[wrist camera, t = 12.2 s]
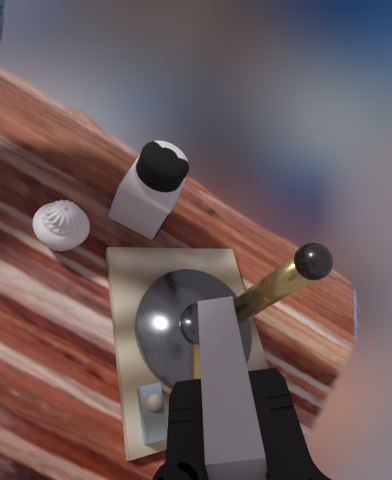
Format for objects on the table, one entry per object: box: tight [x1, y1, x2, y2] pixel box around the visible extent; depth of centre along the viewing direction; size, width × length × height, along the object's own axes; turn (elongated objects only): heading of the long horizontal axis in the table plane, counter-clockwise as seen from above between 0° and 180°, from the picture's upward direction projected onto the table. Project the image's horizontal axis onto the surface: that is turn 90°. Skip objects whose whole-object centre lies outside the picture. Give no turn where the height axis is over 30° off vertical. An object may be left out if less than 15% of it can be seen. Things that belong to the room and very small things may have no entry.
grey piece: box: [33, 199, 90, 251], centre depth 37 cm, size 6×6×7 cm
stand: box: [105, 247, 269, 461], centre depth 39 cm, size 23×19×4 cm
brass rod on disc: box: [135, 243, 333, 389], centre depth 33 cm, size 15×15×18 cm
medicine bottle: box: [108, 141, 189, 240], centre depth 43 cm, size 7×7×12 cm
